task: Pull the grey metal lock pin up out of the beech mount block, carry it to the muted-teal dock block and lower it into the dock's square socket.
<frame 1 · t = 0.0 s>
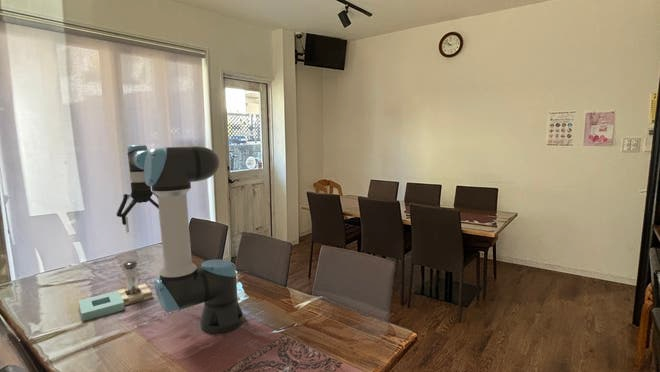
hand: (145, 229, 158), 28 cm above the table, fingers open, 13 cm apart
pin: (132, 280, 153), in the mount
mount: (133, 297, 154), on the table
dock: (101, 308, 144), on the table
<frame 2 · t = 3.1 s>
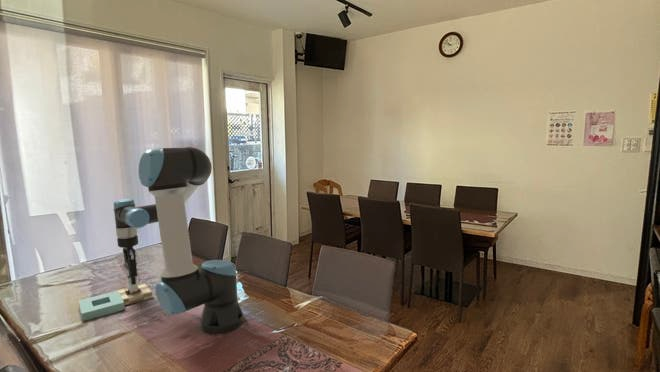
hand: (132, 289, 154), 4 cm above the table, fingers closed on pin, 4 cm apart
pin: (132, 280, 153), in the mount, touching gripper
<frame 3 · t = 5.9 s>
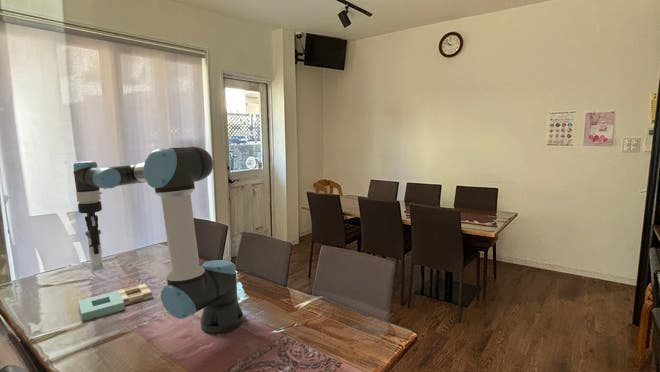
hand: (96, 259, 141), 20 cm above the table, fingers closed on pin, 4 cm apart
pin: (95, 250, 141), point 24 cm above the table, touching gripper
when the fingers open (6 cm above the table, at t = 8.7 s): pin drops 2 cm, resting in dock.
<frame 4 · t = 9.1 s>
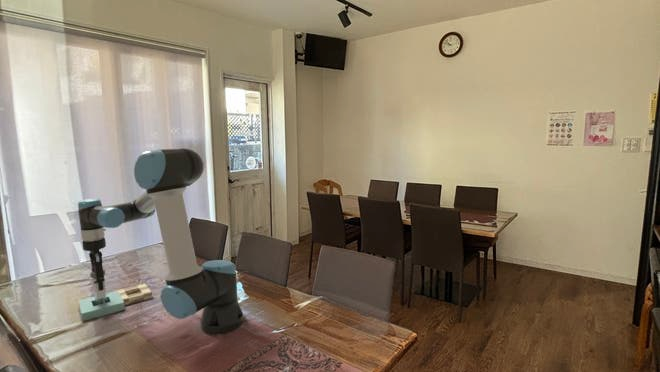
hand: (100, 293, 143), 7 cm above the table, fingers open, 9 cm apart
pin: (99, 290, 143), in the dock
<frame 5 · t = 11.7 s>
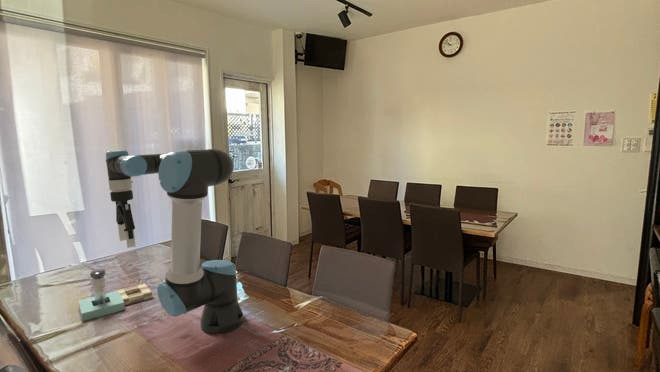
hand: (127, 243, 142), 26 cm above the table, fingers open, 13 cm apart
nothing on the table moved.
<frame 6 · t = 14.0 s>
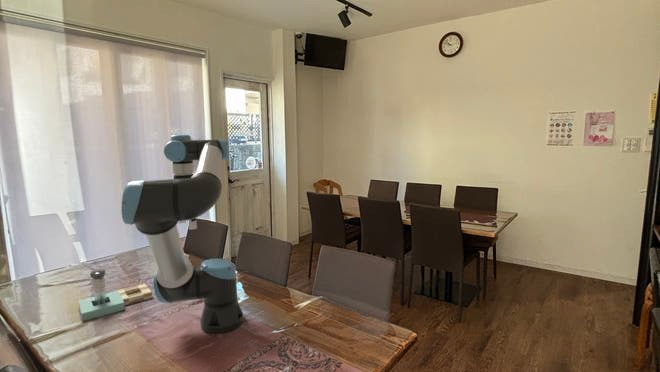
hand: (187, 225, 146), 32 cm above the table, fingers open, 13 cm apart
nothing on the table moved.
at the end: pin 0.1 cm off-centre on the dock, point 7.6 cm above the dock's base; pin tilted 0°; the gripper is holding nothing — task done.
